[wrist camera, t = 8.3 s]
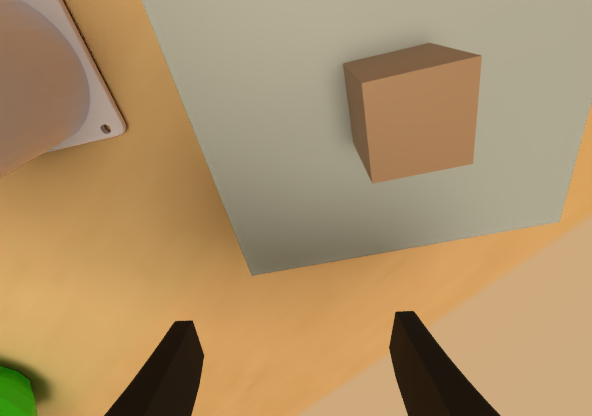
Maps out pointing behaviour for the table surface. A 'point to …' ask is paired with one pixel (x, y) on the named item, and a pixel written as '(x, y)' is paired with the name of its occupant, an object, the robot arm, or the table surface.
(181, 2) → the lid
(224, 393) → the table surface
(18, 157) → the robot arm
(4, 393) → the plastic bottle
